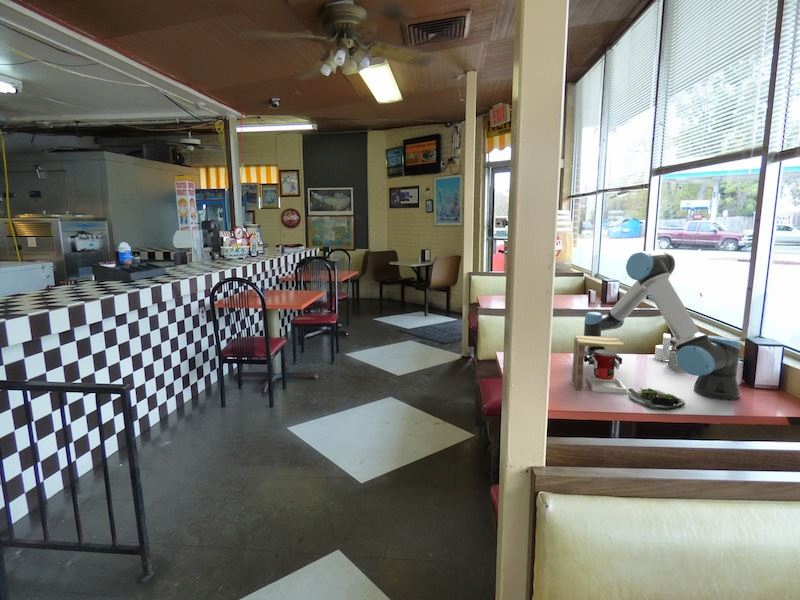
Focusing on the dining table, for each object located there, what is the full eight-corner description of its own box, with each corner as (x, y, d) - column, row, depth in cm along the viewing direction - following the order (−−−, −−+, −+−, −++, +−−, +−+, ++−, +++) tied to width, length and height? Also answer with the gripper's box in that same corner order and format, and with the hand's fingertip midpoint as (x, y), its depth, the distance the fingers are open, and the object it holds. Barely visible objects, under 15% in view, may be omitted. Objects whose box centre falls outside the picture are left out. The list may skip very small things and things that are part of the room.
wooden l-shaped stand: (571, 380, 198) (574, 335, 195) (613, 382, 195) (617, 337, 191) (576, 389, 187) (579, 342, 183) (620, 392, 183) (624, 344, 180)
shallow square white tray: (586, 380, 198) (586, 376, 197) (618, 382, 195) (618, 378, 195) (592, 391, 185) (592, 386, 185) (626, 393, 183) (626, 388, 182)
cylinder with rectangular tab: (675, 362, 222) (677, 338, 220) (654, 359, 227) (656, 336, 224) (675, 357, 230) (677, 334, 228) (654, 355, 234) (656, 332, 232)
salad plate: (614, 396, 181) (614, 385, 180) (644, 389, 188) (645, 378, 188) (658, 414, 164) (660, 402, 163) (690, 406, 171) (692, 394, 170)
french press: (694, 371, 209) (700, 318, 204) (668, 371, 209) (674, 318, 205) (681, 364, 218) (687, 314, 214) (657, 364, 218) (662, 314, 214)
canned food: (611, 381, 187) (613, 355, 185) (591, 377, 192) (592, 352, 190) (615, 376, 193) (617, 351, 191) (595, 372, 198) (597, 348, 196)
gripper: (619, 359, 207) (633, 375, 185) (571, 356, 212) (580, 372, 190) (620, 343, 206) (635, 358, 184) (572, 341, 210) (581, 355, 188)
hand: (607, 365), depth 187 cm, fingers closed on canned food, 8 cm apart
